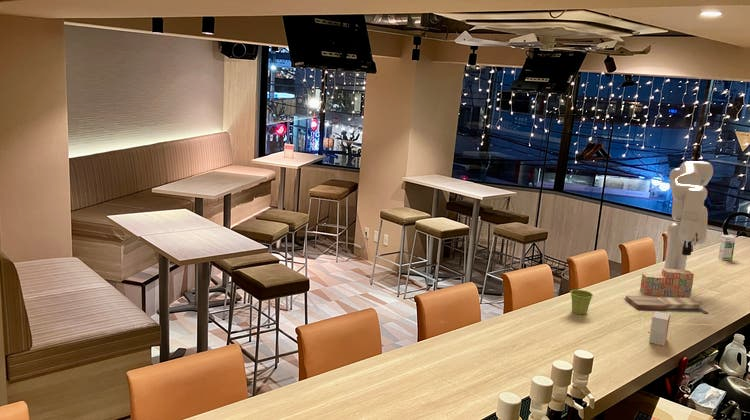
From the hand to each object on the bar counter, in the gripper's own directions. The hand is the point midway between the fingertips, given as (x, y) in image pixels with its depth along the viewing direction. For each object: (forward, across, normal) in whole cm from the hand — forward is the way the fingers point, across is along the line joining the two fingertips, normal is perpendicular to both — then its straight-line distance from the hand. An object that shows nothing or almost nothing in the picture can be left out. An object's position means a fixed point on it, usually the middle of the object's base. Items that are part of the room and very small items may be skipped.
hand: (686, 254), depth 269 cm
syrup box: (+28, -80, +73) cm, 112 cm away
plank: (+22, +7, -4) cm, 23 cm away
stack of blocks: (+24, -10, -1) cm, 26 cm away
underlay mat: (+23, +6, -10) cm, 26 cm away
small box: (+21, +46, -34) cm, 61 cm away
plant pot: (+22, +17, -53) cm, 60 cm away
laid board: (+22, +6, -19) cm, 30 cm away
